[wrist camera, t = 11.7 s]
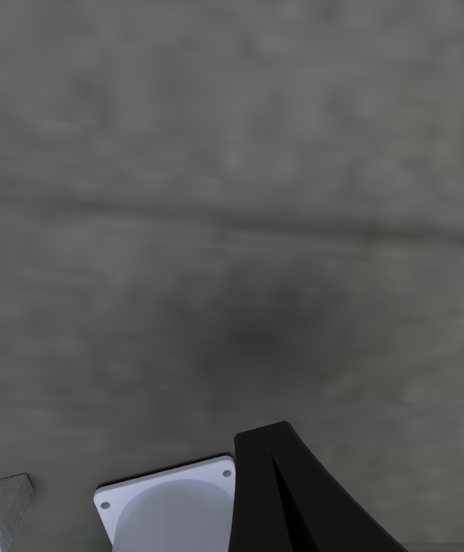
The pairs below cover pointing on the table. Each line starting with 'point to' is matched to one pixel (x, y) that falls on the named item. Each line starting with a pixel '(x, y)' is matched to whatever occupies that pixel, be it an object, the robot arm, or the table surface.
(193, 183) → the table surface
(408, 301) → the table surface
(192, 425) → the table surface
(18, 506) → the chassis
